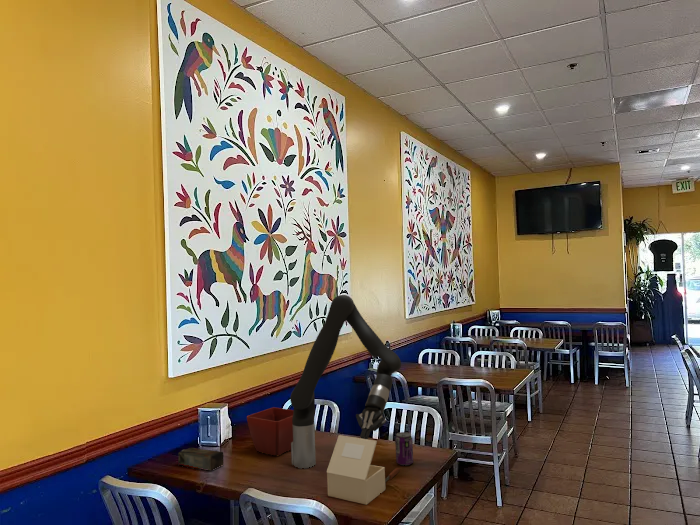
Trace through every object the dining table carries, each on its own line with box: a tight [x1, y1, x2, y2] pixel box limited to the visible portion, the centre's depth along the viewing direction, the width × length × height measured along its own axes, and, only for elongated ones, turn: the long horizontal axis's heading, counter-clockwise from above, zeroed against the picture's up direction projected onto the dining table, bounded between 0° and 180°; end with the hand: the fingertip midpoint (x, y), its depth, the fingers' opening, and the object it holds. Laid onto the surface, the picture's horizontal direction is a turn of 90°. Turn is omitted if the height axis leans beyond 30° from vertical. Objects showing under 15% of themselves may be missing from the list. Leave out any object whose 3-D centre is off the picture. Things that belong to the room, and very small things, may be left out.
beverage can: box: [394, 431, 414, 467], centre depth 210 cm, size 7×7×12 cm
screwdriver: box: [385, 467, 401, 483], centre depth 194 cm, size 16×1×2 cm, turn 152°
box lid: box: [326, 434, 378, 481], centre depth 180 cm, size 16×14×1 cm
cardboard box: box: [326, 464, 386, 505], centre depth 182 cm, size 16×14×8 cm
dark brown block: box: [177, 447, 224, 471], centre depth 216 cm, size 8×19×7 cm, turn 63°
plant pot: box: [246, 406, 294, 456], centre depth 232 cm, size 19×19×17 cm
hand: (363, 439), depth 188 cm, fingers closed
